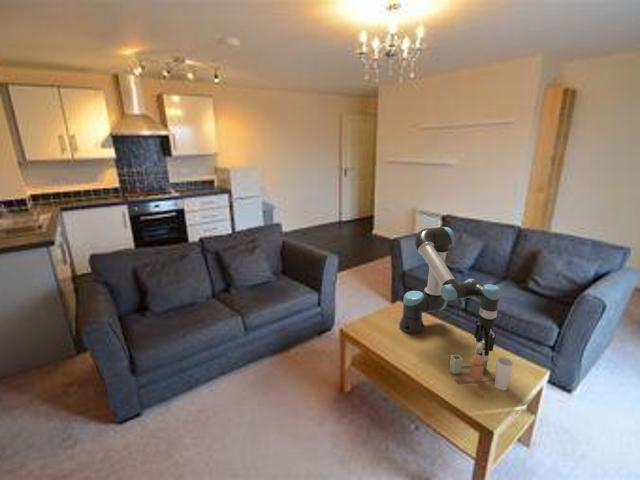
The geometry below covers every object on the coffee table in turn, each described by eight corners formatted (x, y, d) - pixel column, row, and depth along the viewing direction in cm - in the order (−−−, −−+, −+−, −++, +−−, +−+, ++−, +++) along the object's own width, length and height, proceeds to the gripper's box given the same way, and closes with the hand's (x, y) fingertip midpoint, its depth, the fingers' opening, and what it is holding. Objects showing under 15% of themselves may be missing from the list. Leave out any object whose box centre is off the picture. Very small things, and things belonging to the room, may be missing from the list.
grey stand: (474, 366, 173) (476, 352, 171) (481, 365, 174) (483, 352, 171) (478, 371, 169) (480, 357, 167) (486, 370, 170) (488, 357, 168)
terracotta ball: (469, 361, 165) (471, 352, 164) (479, 360, 166) (480, 352, 164) (475, 368, 160) (476, 359, 159) (485, 367, 161) (486, 358, 159)
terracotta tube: (469, 375, 167) (471, 361, 164) (477, 374, 167) (479, 360, 165) (474, 380, 163) (476, 366, 161) (481, 379, 163) (483, 365, 161)
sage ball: (474, 349, 171) (475, 340, 170) (483, 348, 172) (485, 339, 170) (480, 355, 166) (481, 346, 165) (489, 354, 167) (490, 345, 166)
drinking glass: (489, 383, 162) (493, 357, 158) (503, 382, 163) (507, 356, 159) (497, 394, 156) (502, 366, 152) (511, 392, 156) (516, 365, 152)
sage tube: (449, 368, 172) (450, 355, 169) (456, 368, 172) (458, 354, 170) (453, 373, 168) (454, 360, 166) (460, 373, 168) (462, 359, 166)
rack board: (445, 369, 173) (445, 367, 172) (482, 366, 175) (482, 364, 175) (457, 386, 161) (458, 384, 161) (496, 382, 163) (497, 380, 163)
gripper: (470, 307, 171) (464, 346, 178) (491, 326, 154) (484, 368, 161) (483, 306, 172) (478, 345, 179) (506, 324, 155) (499, 367, 162)
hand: (481, 356), depth 170 cm, fingers closed on sage ball, 5 cm apart
